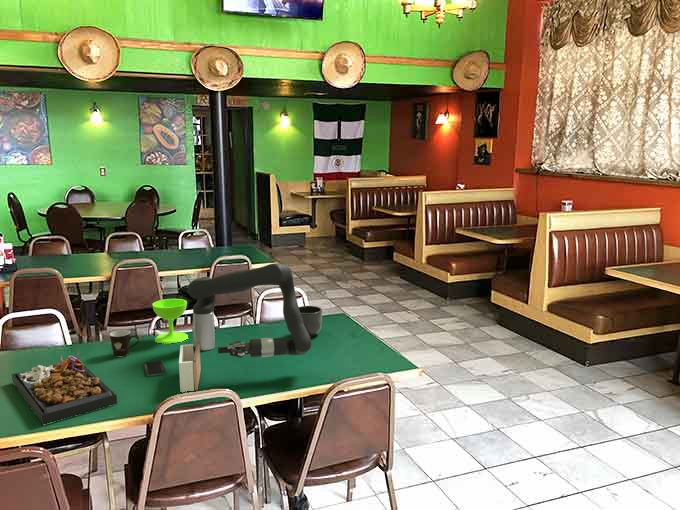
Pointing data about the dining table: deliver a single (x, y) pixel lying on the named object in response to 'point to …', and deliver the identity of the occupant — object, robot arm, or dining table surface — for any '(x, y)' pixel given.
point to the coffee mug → (121, 342)
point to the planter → (311, 319)
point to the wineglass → (170, 319)
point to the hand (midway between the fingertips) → (217, 350)
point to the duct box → (186, 368)
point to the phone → (154, 368)
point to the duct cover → (197, 366)
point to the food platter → (62, 390)
